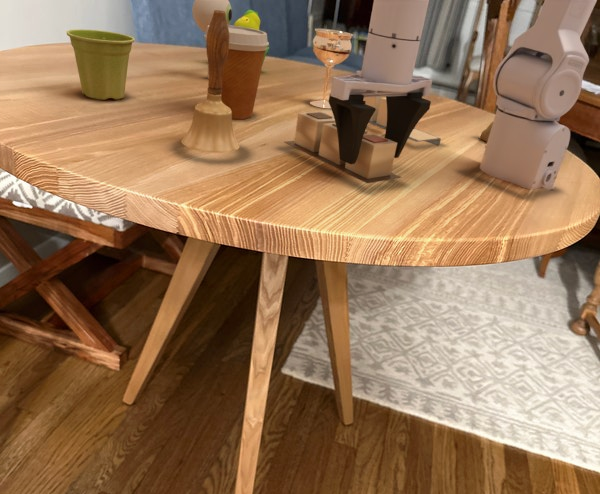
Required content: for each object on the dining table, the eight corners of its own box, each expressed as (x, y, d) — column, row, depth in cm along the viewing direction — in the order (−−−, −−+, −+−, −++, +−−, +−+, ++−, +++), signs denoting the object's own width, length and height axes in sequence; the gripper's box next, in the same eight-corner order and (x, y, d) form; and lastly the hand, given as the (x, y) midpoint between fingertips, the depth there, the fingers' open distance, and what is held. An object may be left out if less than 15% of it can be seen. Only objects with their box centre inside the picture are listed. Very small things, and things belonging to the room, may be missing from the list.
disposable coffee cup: (273, 121, 88) (281, 37, 81) (216, 122, 83) (221, 33, 76) (244, 105, 94) (250, 26, 88) (191, 105, 89) (193, 22, 83)
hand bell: (248, 146, 75) (259, 13, 67) (237, 166, 68) (248, 19, 60) (186, 137, 75) (190, 2, 67) (169, 155, 68) (170, 7, 60)
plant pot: (87, 85, 92) (83, 26, 87) (144, 94, 91) (143, 36, 87) (59, 96, 84) (54, 33, 79) (122, 107, 83) (120, 43, 79)
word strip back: (439, 144, 89) (448, 111, 86) (414, 148, 85) (423, 113, 82) (372, 118, 98) (378, 87, 95) (347, 120, 94) (352, 88, 92)
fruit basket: (205, 63, 122) (208, 4, 116) (235, 61, 128) (239, 6, 122) (243, 75, 116) (248, 13, 110) (272, 72, 122) (278, 15, 116)
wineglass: (303, 98, 105) (313, 27, 98) (339, 102, 105) (351, 32, 99) (305, 106, 99) (315, 31, 93) (343, 111, 100) (356, 37, 93)
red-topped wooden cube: (390, 175, 69) (397, 141, 67) (367, 179, 67) (374, 144, 65) (367, 164, 72) (373, 132, 70) (344, 167, 69) (350, 134, 67)
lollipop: (221, 84, 105) (226, -6, 97) (184, 78, 106) (186, -13, 98) (232, 78, 111) (238, -8, 103) (198, 72, 112) (201, -14, 104)
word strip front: (400, 184, 70) (409, 143, 67) (365, 191, 66) (374, 148, 64) (316, 145, 80) (321, 108, 77) (282, 148, 76) (287, 110, 73)
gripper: (410, 31, 68) (386, 143, 75) (320, 26, 60) (303, 153, 67) (457, 43, 64) (427, 160, 71) (367, 39, 55) (343, 173, 62)
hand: (369, 158), depth 68 cm, fingers open, 7 cm apart
